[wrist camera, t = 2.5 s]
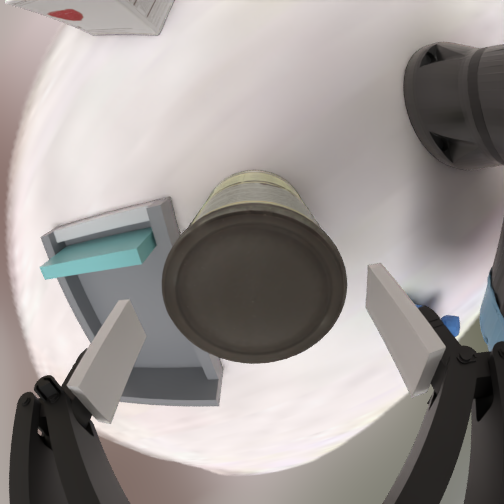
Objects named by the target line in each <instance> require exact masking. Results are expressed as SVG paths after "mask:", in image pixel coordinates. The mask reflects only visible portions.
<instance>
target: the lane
mask: <svg viewBox="0 0 504 504" xmlns="http://www.w3.org/2000/svg"><path fill="white" fill-rule="evenodd" d="M149 227H151V228H152V231H153V234H154V238H155V241H156V244H157V246H156V247H155V248H154V249H153V251H152V252H151V253H150V255H149V256H148V257H147V258H146V260H145V261H144V262H143V264H140V265H134V266H128V267H121V268H115V269H108V270H102V271H96V272H89V273H83V274H77V275H71V276H64V277H58V278H57V279H58V282H59V284H60V286H61V288H62V290H63V292H64V294H65V296H66V299H67V301H68V303H69V305H70V307H71V308H72V310H73V312H74V314H75V316H76V318H77V320H78V322H79V324H80V325H81V327H82V329H83V331H84V332H85V334H86V336H87V338H88V339H89V341H90V343H91V342H92V341H93V339H94V338H95V336H96V334H97V333H98V331H99V330H100V328H101V327H102V325H103V324H104V322H105V320H106V319H107V317H108V316H109V314H110V313H111V311H112V310H113V308H114V307H115V305H116V304H117V302H118V301H119V300H128V299H130V302H131V304H132V306H133V308H134V311H135V313H136V315H137V317H138V319H139V321H140V323H141V326H142V328H143V330H144V332H145V334H146V338H145V341H144V343H143V345H142V347H141V350H140V352H139V354H138V357H137V359H136V361H135V364H134V366H133V369H132V371H131V373H130V376H129V378H128V381H127V383H126V386H125V388H124V391H123V393H122V396H121V398H120V401H119V402H127V403H137V404H149V405H165V406H219V402H220V393H221V385H222V377H223V367H222V364H221V362H220V359H219V357H217V356H214V355H212V354H209V353H208V352H205V351H203V350H202V349H200V348H198V347H197V346H195V345H194V344H193V343H191V342H190V341H189V340H188V339H187V338H186V337H185V336H184V335H183V334H182V333H181V332H180V331H179V330H178V328H177V327H176V326H175V324H174V323H173V321H172V320H171V318H170V316H169V314H168V312H167V310H166V307H165V304H164V301H163V295H162V273H163V268H164V264H165V261H166V258H167V256H168V254H169V252H170V250H171V248H172V247H173V245H174V243H175V242H176V241H177V239H178V238H179V237H180V233H179V229H178V226H177V222H176V218H175V214H174V210H173V206H172V202H171V198H170V197H168V198H163V199H159V200H155V201H150V202H146V203H142V204H138V205H134V206H130V207H126V208H122V209H118V210H115V211H111V212H107V213H104V214H100V215H96V216H93V217H89V218H86V219H83V220H79V221H76V222H73V223H69V224H66V225H63V226H60V227H57V228H54V229H53V230H51V231H49V232H48V233H46V234H45V235H43V236H42V237H41V239H42V242H43V245H44V248H45V250H46V253H47V255H48V258H49V260H50V259H51V258H52V257H53V256H55V255H56V254H57V253H58V252H60V251H61V250H62V249H64V248H65V247H66V246H69V245H73V244H77V243H81V242H86V241H90V240H94V239H98V238H103V237H107V236H112V235H116V234H121V233H125V232H130V231H134V230H139V229H144V228H149Z"/></svg>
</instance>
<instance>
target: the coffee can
mask: <svg viewBox="0 0 504 504" xmlns="http://www.w3.org/2000/svg"><path fill="white" fill-rule="evenodd" d="M346 293H347V277H346V270H345V266H344V263H343V260H342V257H341V255H340V253H339V251H338V249H337V247H336V246H335V244H334V243H333V242H332V240H331V239H330V238H329V236H328V235H327V234H326V233H325V232H324V231H323V230H322V229H321V228H320V226H319V225H318V223H317V222H316V220H315V219H314V217H313V216H312V214H311V213H310V211H309V210H308V208H307V207H306V205H305V204H304V203H303V201H302V200H301V198H300V196H299V194H298V193H297V191H296V190H295V189H294V188H293V187H292V185H291V184H289V183H288V182H287V181H286V180H284V179H283V178H281V177H280V176H278V175H276V174H273V173H270V172H266V171H259V170H250V171H243V172H240V173H236V174H233V175H231V176H230V177H228V178H226V179H225V180H223V181H222V182H221V183H220V184H218V185H217V187H216V188H215V189H214V190H213V192H212V193H211V195H210V196H209V198H208V200H207V201H206V203H205V204H204V205H203V207H202V208H201V210H200V211H199V213H198V214H197V215H196V217H195V218H194V220H193V221H192V222H191V224H190V226H189V227H188V228H187V229H186V230H185V231H184V232H183V233H182V234H181V235H180V237H179V238H178V239H177V241H176V242H175V243H174V245H173V247H172V248H171V250H170V252H169V254H168V256H167V258H166V261H165V264H164V268H163V273H162V295H163V301H164V304H165V307H166V310H167V312H168V314H169V316H170V318H171V320H172V321H173V323H174V324H175V326H176V327H177V328H178V330H179V331H180V332H181V333H182V334H183V335H184V336H185V337H186V338H187V339H188V340H189V341H190V342H191V343H193V344H194V345H195V346H197V347H198V348H200V349H202V350H203V351H205V352H208V353H209V354H212V355H214V356H217V357H219V358H223V359H226V360H230V361H235V362H240V363H250V364H252V363H269V362H275V361H279V360H283V359H287V358H289V357H292V356H295V355H297V354H299V353H301V352H303V351H305V350H307V349H308V348H310V347H312V346H313V345H314V344H316V343H317V342H318V341H319V340H321V339H322V338H323V337H324V336H325V335H326V334H327V333H328V332H329V331H330V329H331V328H332V327H333V325H334V324H335V322H336V321H337V319H338V317H339V315H340V313H341V311H342V308H343V306H344V303H345V298H346Z"/></svg>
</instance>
